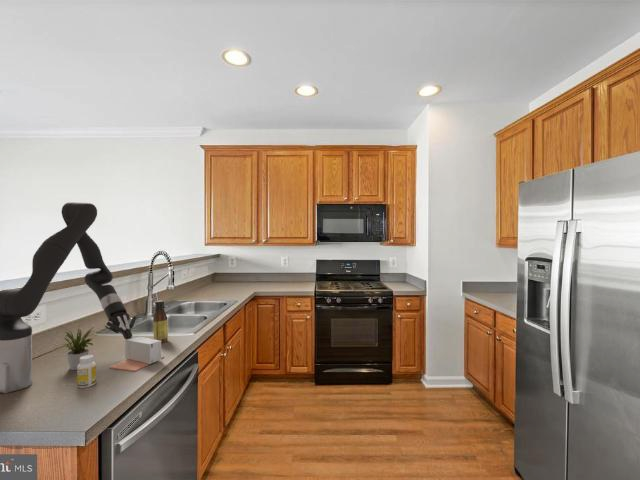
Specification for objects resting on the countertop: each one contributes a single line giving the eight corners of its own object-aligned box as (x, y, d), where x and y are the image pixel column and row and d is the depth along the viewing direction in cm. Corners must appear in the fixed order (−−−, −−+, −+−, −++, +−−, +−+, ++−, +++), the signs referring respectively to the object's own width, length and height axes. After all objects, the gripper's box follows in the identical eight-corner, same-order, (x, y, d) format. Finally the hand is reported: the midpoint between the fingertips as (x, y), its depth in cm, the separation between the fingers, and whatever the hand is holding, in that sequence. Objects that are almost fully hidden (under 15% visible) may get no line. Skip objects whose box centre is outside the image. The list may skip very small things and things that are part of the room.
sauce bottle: (170, 339, 171) (170, 299, 170) (163, 343, 164) (163, 302, 164) (157, 339, 171) (157, 299, 171) (150, 343, 165) (150, 301, 165)
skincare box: (136, 354, 148) (162, 360, 142) (123, 358, 142) (149, 365, 136) (137, 335, 148) (162, 340, 142) (124, 338, 142) (150, 344, 136)
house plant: (47, 378, 124) (47, 333, 123) (53, 365, 135) (53, 324, 135) (94, 371, 131) (94, 328, 131) (96, 359, 143) (96, 320, 142)
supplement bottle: (92, 380, 123) (93, 353, 122) (98, 384, 119) (98, 356, 119) (75, 385, 118) (75, 357, 118) (80, 389, 115) (80, 360, 115)
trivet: (134, 371, 130) (134, 370, 130) (109, 368, 134) (109, 366, 134) (164, 357, 146) (164, 356, 146) (140, 354, 149) (140, 353, 149)
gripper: (100, 303, 143) (117, 337, 137) (131, 298, 155) (148, 329, 149) (93, 314, 146) (109, 348, 140) (124, 308, 157) (140, 339, 152)
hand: (129, 338), depth 144 cm, fingers closed
